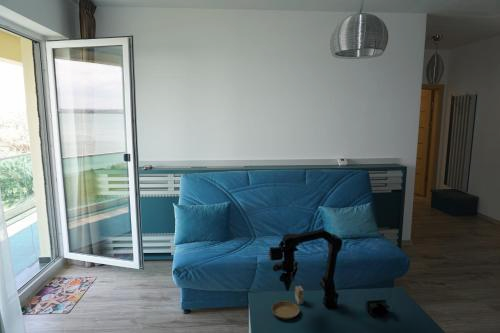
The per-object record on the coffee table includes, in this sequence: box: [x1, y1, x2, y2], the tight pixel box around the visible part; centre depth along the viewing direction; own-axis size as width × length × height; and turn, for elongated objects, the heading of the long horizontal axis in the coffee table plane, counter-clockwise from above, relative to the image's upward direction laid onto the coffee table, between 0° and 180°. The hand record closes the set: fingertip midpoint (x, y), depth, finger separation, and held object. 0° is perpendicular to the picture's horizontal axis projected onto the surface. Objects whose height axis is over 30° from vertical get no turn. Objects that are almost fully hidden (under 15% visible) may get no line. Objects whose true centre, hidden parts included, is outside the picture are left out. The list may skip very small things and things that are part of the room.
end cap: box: [364, 298, 390, 318], centre depth 174 cm, size 10×7×7 cm
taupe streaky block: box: [294, 285, 305, 305], centre depth 185 cm, size 3×5×8 cm, turn 15°
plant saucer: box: [271, 300, 301, 320], centre depth 175 cm, size 15×15×3 cm
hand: (289, 286), depth 177 cm, fingers open, 9 cm apart
